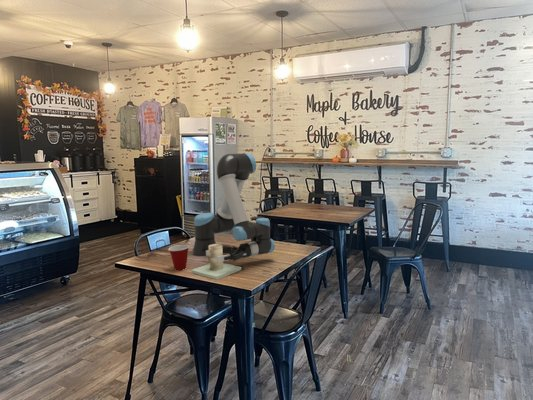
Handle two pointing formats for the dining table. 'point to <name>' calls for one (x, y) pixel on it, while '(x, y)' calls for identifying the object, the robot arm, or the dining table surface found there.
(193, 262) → the dining table surface
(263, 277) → the dining table surface
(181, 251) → the plastic cup
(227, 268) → the board
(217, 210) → the robot arm
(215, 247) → the birch roller
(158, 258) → the dining table surface
